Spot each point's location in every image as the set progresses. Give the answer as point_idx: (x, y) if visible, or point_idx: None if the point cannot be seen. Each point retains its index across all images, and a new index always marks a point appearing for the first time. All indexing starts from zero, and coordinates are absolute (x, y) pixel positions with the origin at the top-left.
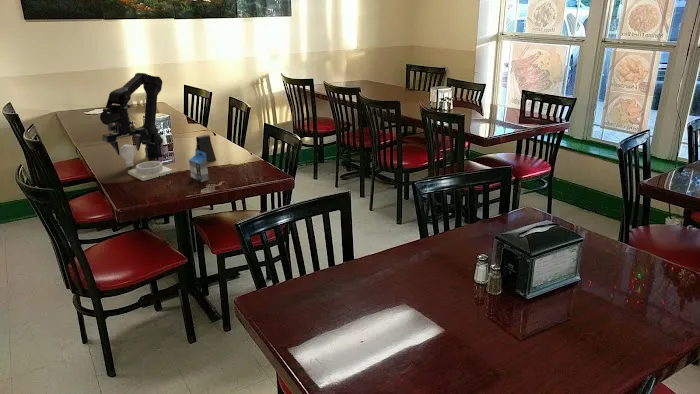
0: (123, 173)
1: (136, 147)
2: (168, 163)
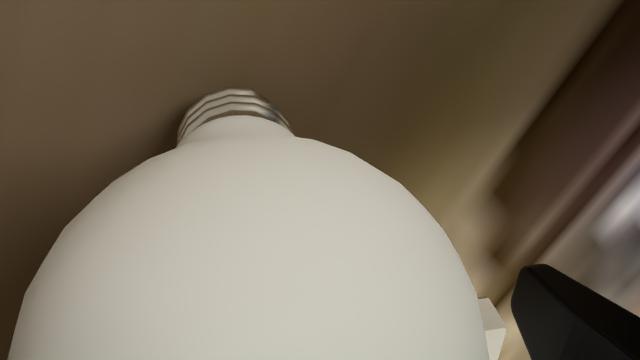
0: None
1: (569, 326)
2: (623, 275)
